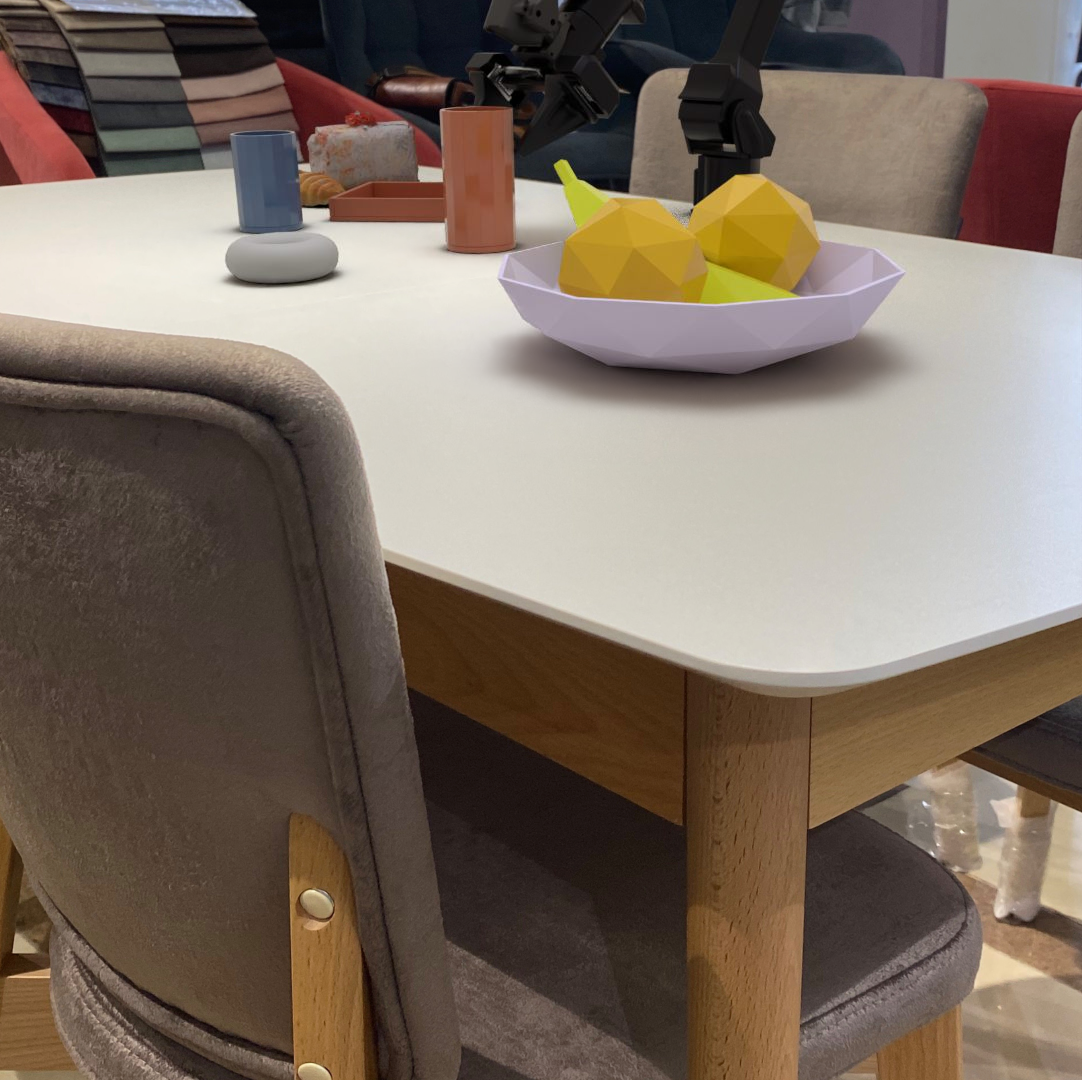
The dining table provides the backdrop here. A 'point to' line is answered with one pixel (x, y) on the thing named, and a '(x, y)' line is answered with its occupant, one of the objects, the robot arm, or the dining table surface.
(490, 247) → the terracotta cup
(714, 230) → the fruit bowl
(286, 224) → the slate cup
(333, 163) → the food item
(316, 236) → the donut
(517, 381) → the dining table surface
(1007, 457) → the dining table surface
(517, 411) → the dining table surface
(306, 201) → the pastry
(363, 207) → the tray
